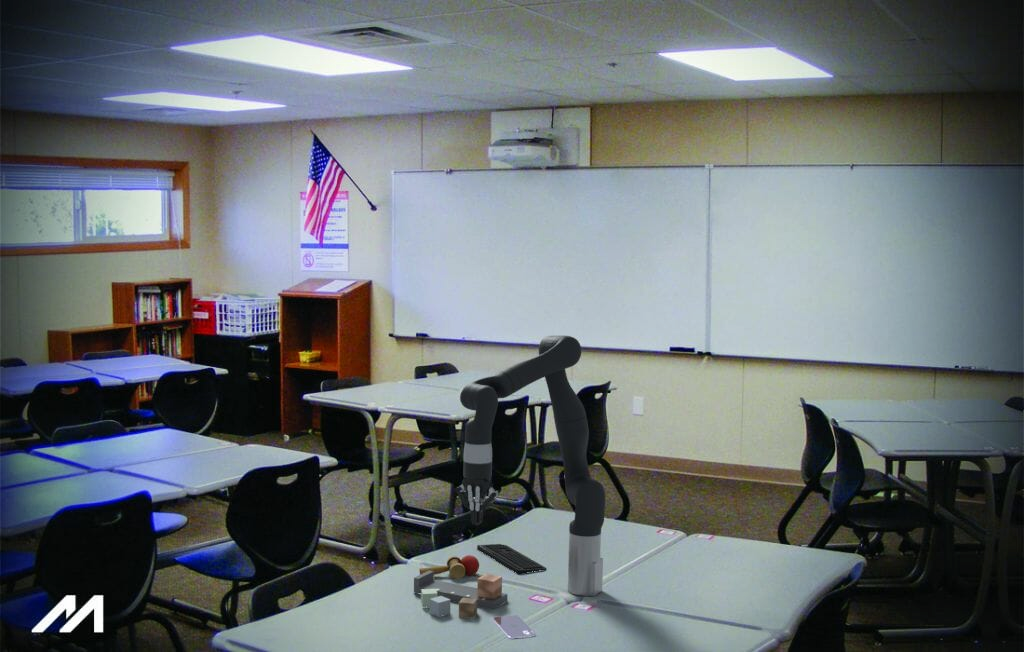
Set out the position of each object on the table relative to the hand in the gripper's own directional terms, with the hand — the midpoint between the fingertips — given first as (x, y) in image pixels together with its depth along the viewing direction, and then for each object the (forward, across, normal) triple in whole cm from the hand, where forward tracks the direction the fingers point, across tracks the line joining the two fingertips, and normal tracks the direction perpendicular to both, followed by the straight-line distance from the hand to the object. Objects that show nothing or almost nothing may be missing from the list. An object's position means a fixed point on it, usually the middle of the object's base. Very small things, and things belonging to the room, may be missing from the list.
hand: (476, 523), depth 263 cm
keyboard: (+26, +16, -51) cm, 59 cm away
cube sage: (+25, +15, -1) cm, 30 cm away
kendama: (+26, +24, -26) cm, 44 cm away
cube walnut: (+25, +2, 0) cm, 25 cm away
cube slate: (+25, +9, +3) cm, 27 cm away
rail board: (+25, +11, -11) cm, 30 cm away
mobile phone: (+26, -13, +2) cm, 29 cm away
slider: (+23, +2, -11) cm, 26 cm away
